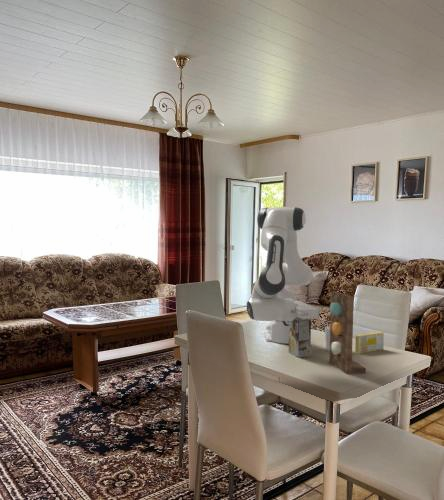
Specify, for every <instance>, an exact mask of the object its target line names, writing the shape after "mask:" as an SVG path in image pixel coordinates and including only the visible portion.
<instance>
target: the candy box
mask: <svg viewBox="0 0 444 500" xmlns="http://www.w3.org/2000/svg"><path fill="white" fill-rule="evenodd" d="M384 343H385V342H384V332H382V331H379V332H371V333H365V334H363V333H362V334H355V346H354V347H355V351H354V352H355V353H356V354H363V353H364V352H365V353H370V352H371V351H372V352H378V351H377V350H379V351H383V349H384V345H385V344H384ZM365 353H364V354H365Z"/></svg>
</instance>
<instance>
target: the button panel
mask: <svg viewBox="0 0 444 500" xmlns="http://www.w3.org/2000/svg"><path fill="white" fill-rule="evenodd" d="M331 303H342V305H343V313H342V315H332V314H331V313H330V325H329V327H330V350H329V357H328V359H329V361H328V362H329V363H331V364H332V365H333V366H335V367H336V368H338V369H339V370H341V371H342V372H343V373H344V374H346V375H354V374H355V375H356V374H367V373H366V372H367V370H366V367H365V366H363V365H361V364H360V363H358V362H357V361H355V360H354V359H353V338H354V336H353V335H354V332H353V331H354V308H355V306H354V304H355V297H354V296H352V295H348V294H346V293H343V292H339V291H335V290H333V291H331V301H330V304H331ZM334 322H341V323H342V335H334V334H333V332H332V324H333V323H334ZM332 342H341V354H333V353H332V350H331V345H332Z"/></svg>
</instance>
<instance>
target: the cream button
mask: <svg viewBox="0 0 444 500" xmlns="http://www.w3.org/2000/svg"><path fill="white" fill-rule="evenodd" d="M331 350H332V353H333V354H341V342H332V345H331Z"/></svg>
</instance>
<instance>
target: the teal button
mask: <svg viewBox="0 0 444 500" xmlns="http://www.w3.org/2000/svg"><path fill="white" fill-rule="evenodd" d="M329 312H330V315H331V314H332V315H342V313H343V303H331V302H330V305H329Z"/></svg>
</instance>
